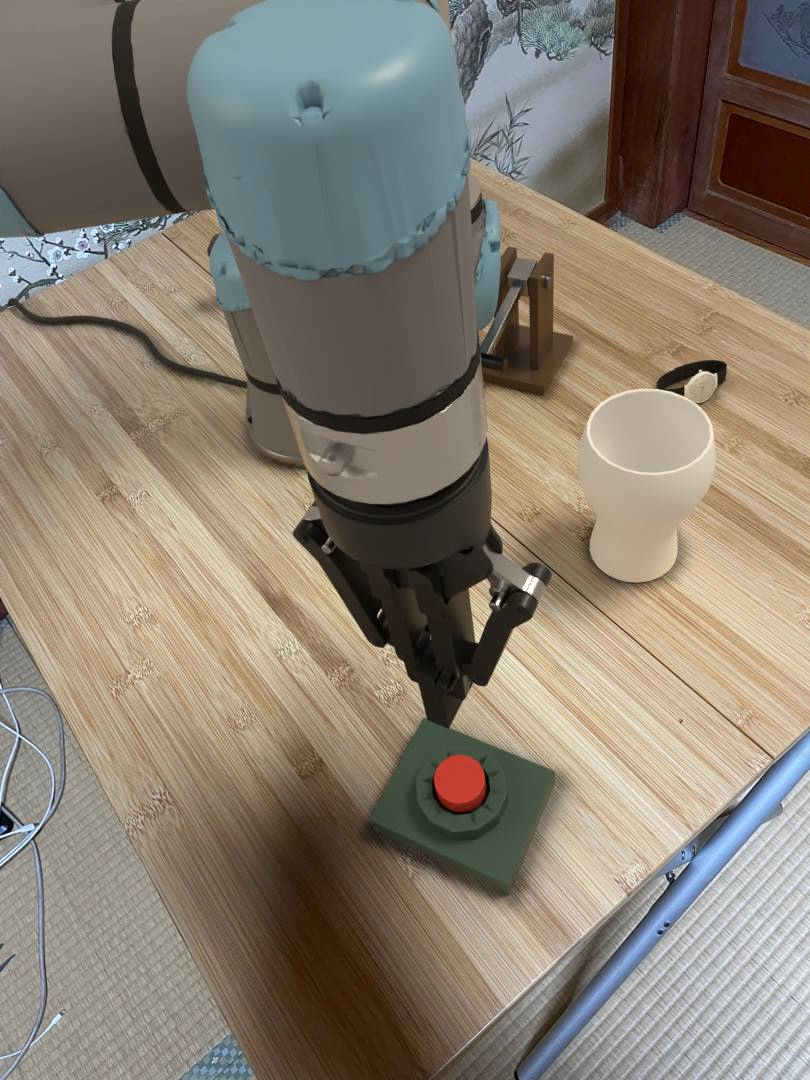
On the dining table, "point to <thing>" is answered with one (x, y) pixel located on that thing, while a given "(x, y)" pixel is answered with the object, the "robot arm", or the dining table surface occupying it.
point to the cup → (643, 478)
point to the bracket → (530, 332)
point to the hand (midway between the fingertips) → (447, 706)
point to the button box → (474, 836)
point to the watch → (696, 379)
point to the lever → (506, 313)
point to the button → (460, 783)
